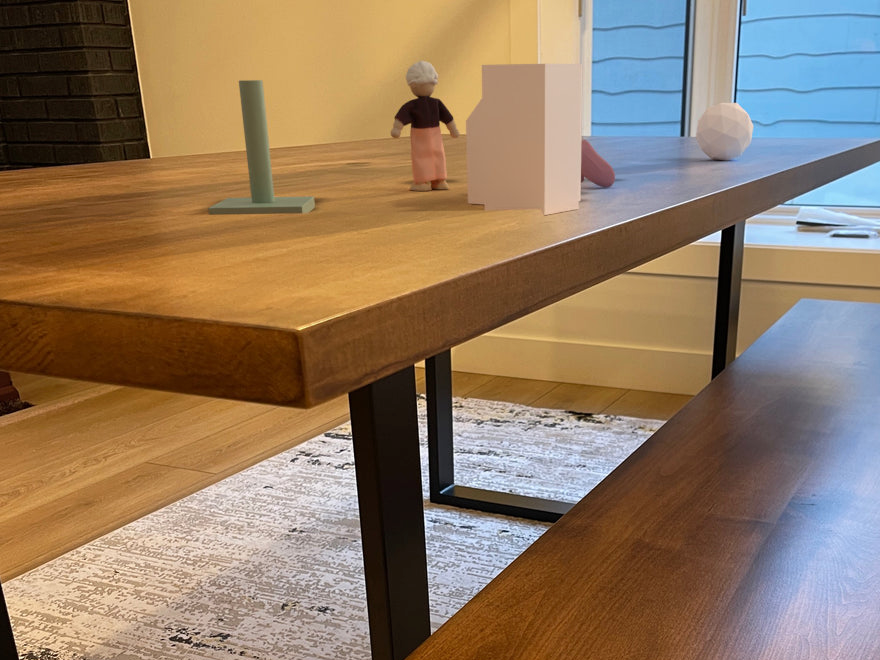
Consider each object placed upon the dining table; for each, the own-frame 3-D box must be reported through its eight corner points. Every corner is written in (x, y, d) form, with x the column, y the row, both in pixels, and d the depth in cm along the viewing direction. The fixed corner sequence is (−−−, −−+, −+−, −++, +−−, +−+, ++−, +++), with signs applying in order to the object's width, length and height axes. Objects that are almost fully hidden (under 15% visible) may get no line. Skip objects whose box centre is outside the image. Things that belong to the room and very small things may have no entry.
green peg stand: (209, 219, 86) (191, 80, 82) (229, 208, 93) (213, 80, 89) (303, 218, 86) (290, 79, 82) (315, 207, 94) (304, 79, 89)
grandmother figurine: (444, 185, 111) (439, 61, 106) (465, 188, 109) (461, 60, 104) (386, 190, 107) (378, 61, 102) (407, 193, 104) (400, 60, 99)
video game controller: (543, 195, 115) (519, 138, 111) (574, 175, 116) (551, 118, 112) (588, 204, 107) (563, 143, 103) (621, 182, 108) (598, 120, 104)
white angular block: (544, 215, 87) (545, 63, 82) (445, 206, 93) (440, 65, 88) (609, 203, 94) (613, 64, 90) (514, 196, 101) (513, 65, 96)
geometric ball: (733, 181, 141) (755, 134, 135) (681, 159, 142) (700, 112, 135) (746, 149, 145) (768, 103, 139) (696, 129, 146) (714, 81, 139)
